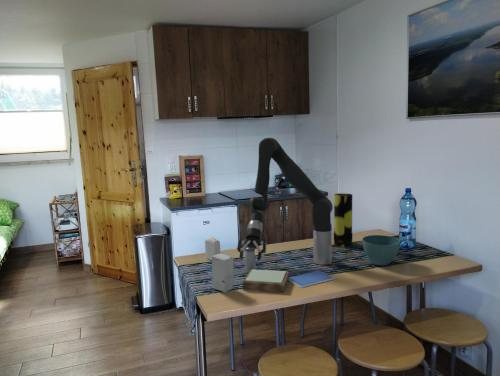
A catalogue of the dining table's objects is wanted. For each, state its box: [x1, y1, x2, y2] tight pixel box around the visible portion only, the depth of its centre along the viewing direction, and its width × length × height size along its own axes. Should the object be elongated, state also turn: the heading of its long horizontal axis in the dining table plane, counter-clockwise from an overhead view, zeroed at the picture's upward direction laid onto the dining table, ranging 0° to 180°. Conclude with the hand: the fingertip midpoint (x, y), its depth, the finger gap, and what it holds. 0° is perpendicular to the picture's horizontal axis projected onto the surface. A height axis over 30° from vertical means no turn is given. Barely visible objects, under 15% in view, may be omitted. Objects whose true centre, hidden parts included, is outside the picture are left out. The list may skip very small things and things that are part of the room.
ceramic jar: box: [244, 246, 256, 274], centre depth 201 cm, size 5×5×12 cm
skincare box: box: [211, 253, 234, 293], centre depth 180 cm, size 8×6×15 cm
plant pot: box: [361, 234, 401, 266], centre depth 207 cm, size 18×18×12 cm
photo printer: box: [204, 236, 221, 262], centre depth 220 cm, size 10×4×12 cm, turn 39°
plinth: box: [242, 268, 290, 293], centre depth 184 cm, size 18×16×4 cm
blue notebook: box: [288, 270, 336, 289], centre depth 189 cm, size 19×13×1 cm, turn 118°
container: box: [333, 192, 353, 248], centre depth 239 cm, size 11×11×30 cm
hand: (249, 259), depth 201 cm, fingers open, 8 cm apart
